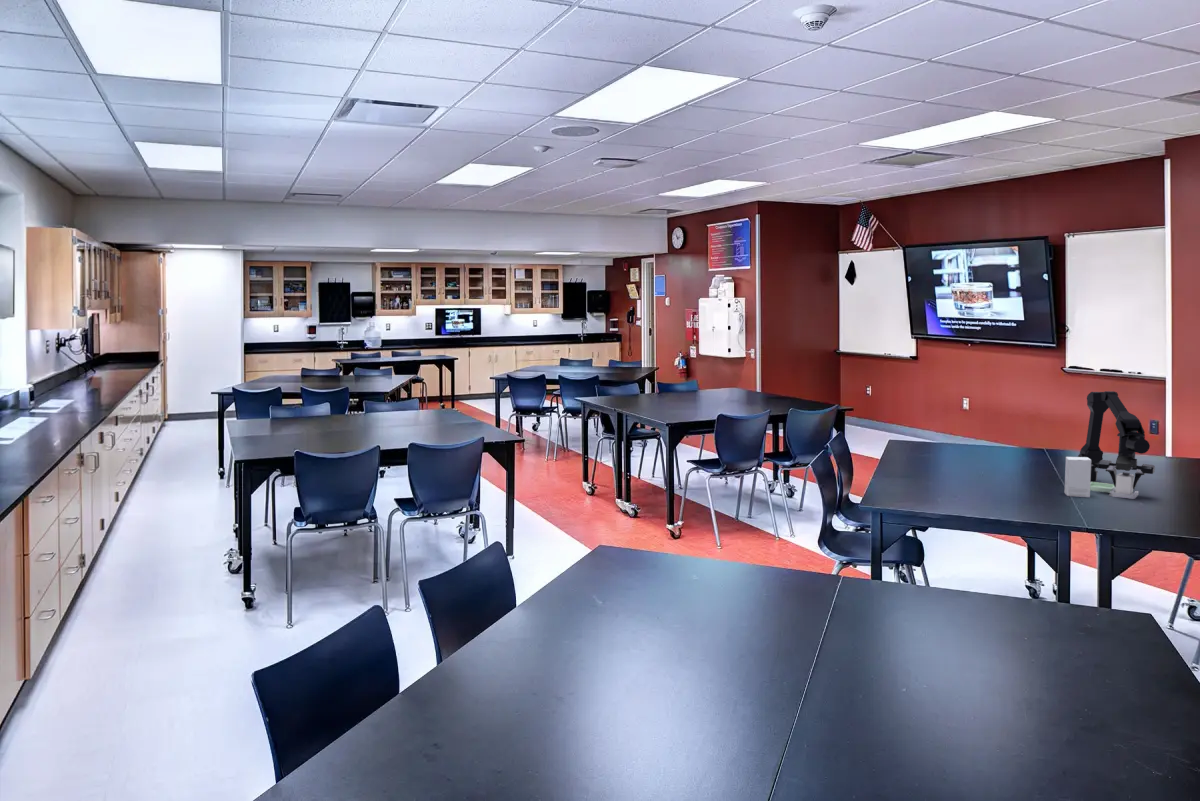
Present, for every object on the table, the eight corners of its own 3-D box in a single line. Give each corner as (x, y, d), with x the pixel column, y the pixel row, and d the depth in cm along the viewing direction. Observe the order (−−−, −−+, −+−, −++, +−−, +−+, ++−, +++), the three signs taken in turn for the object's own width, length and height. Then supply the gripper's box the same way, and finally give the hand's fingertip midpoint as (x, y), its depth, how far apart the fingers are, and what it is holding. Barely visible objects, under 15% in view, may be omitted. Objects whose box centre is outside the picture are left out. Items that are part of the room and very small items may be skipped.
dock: (1109, 497, 332) (1109, 492, 332) (1113, 493, 339) (1113, 488, 339) (1134, 500, 327) (1134, 495, 326) (1138, 496, 334) (1138, 491, 334)
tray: (1085, 491, 343) (1086, 486, 343) (1091, 486, 352) (1091, 481, 351) (1111, 494, 337) (1112, 489, 337) (1116, 489, 346) (1117, 484, 346)
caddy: (1115, 495, 332) (1116, 473, 331) (1118, 492, 338) (1119, 471, 337) (1129, 497, 329) (1131, 475, 328) (1132, 494, 334) (1134, 472, 333)
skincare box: (1086, 495, 336) (1089, 457, 334) (1090, 499, 330) (1092, 459, 328) (1063, 494, 338) (1065, 455, 337) (1066, 497, 332) (1068, 458, 331)
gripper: (1096, 449, 331) (1093, 488, 333) (1152, 454, 319) (1149, 494, 321) (1101, 445, 340) (1099, 483, 341) (1156, 450, 328) (1153, 490, 329)
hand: (1124, 488), depth 333 cm, fingers open, 6 cm apart
